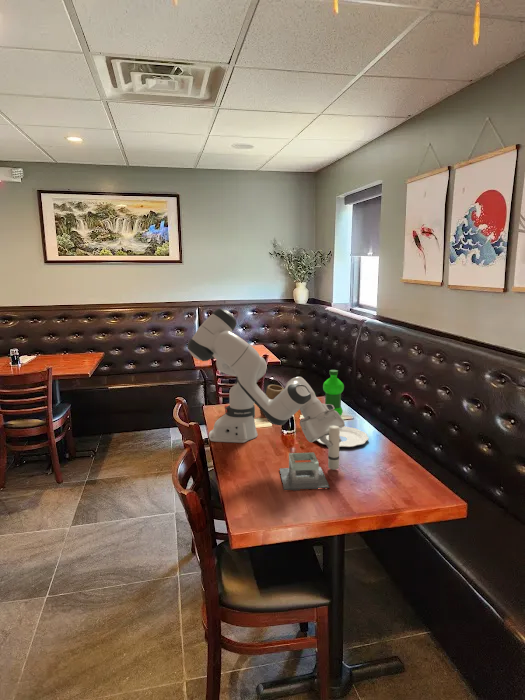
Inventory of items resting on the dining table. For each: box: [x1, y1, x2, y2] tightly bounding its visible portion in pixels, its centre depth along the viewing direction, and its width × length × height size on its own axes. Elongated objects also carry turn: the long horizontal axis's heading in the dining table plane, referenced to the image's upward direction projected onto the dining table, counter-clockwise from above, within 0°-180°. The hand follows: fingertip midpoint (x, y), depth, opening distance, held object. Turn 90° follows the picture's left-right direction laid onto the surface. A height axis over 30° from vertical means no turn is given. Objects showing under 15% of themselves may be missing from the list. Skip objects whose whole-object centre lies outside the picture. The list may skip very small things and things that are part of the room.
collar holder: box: [279, 451, 330, 491], centre depth 162 cm, size 16×16×8 cm
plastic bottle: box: [322, 369, 345, 417], centre depth 226 cm, size 10×10×25 cm
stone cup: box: [265, 384, 285, 399], centre depth 237 cm, size 15×12×15 cm
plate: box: [315, 426, 370, 448], centre depth 201 cm, size 25×25×2 cm
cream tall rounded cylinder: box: [327, 426, 340, 471], centre depth 168 cm, size 4×4×16 cm
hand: (335, 444), depth 168 cm, fingers closed on cream tall rounded cylinder, 4 cm apart
